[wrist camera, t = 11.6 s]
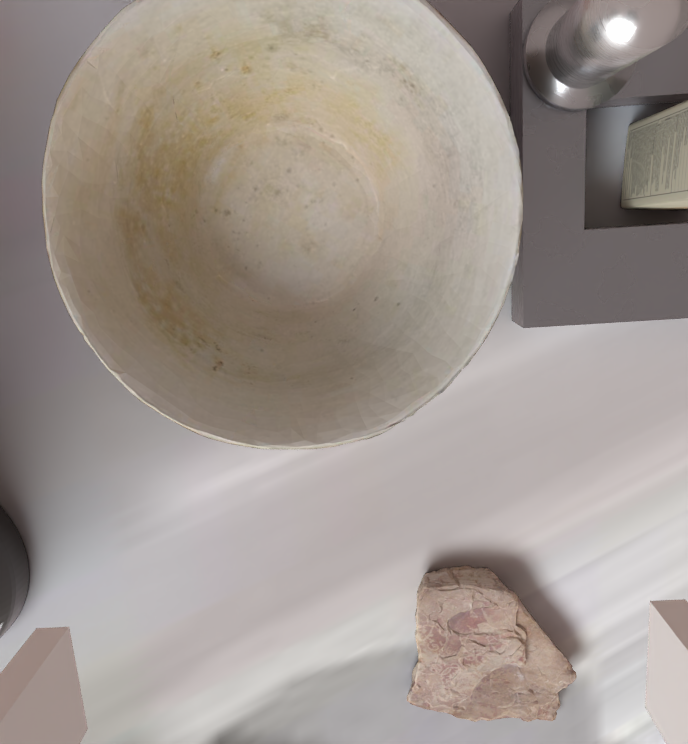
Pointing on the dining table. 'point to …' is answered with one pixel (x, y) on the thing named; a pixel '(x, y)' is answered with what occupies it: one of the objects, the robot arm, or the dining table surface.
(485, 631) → the stone
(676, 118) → the box
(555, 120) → the square recessed tray
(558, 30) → the round door knob
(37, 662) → the robot arm
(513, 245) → the bowl
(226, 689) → the dining table surface
